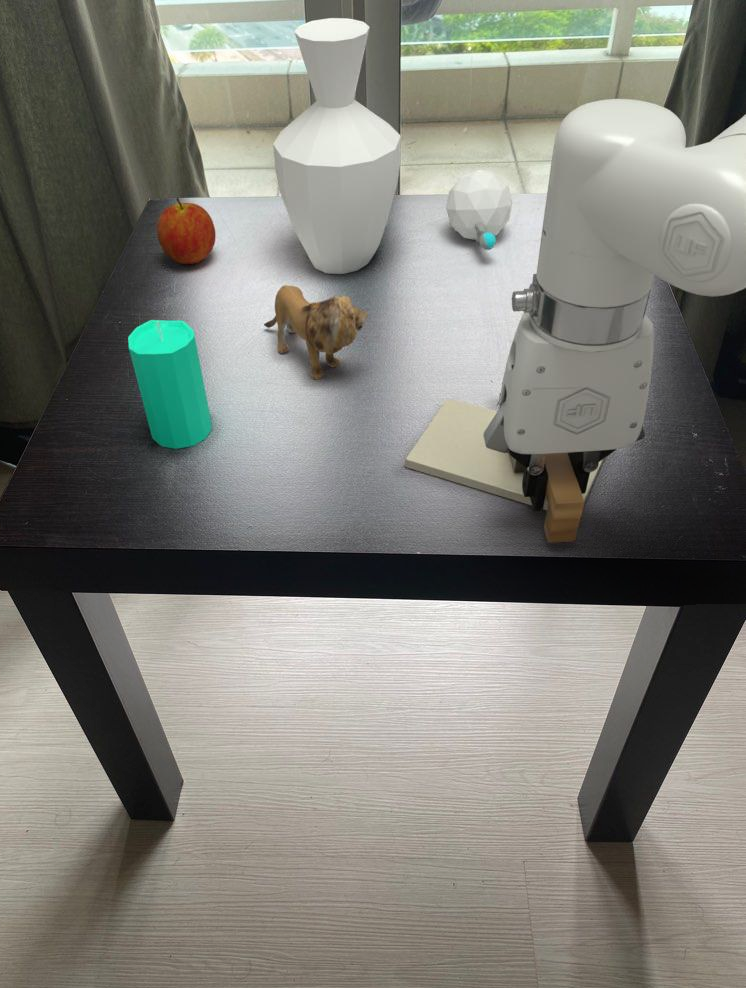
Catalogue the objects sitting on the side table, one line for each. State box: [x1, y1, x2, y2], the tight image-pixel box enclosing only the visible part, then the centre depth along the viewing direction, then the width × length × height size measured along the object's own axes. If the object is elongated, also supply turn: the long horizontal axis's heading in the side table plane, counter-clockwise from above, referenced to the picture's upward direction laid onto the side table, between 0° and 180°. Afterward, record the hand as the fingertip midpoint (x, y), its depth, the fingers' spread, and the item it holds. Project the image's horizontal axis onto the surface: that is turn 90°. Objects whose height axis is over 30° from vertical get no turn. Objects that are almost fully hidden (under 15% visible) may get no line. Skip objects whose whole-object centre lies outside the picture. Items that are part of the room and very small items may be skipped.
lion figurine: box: [263, 284, 368, 380], centre depth 87 cm, size 15×5×9 cm, turn 44°
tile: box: [404, 397, 606, 511], centre depth 77 cm, size 16×10×1 cm, turn 63°
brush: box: [509, 431, 585, 544], centre depth 72 cm, size 14×5×5 cm, turn 2°
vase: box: [272, 17, 402, 275], centre depth 95 cm, size 14×14×25 cm
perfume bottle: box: [445, 168, 513, 251], centre depth 103 cm, size 8×8×12 cm
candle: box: [127, 319, 213, 450], centre depth 78 cm, size 6×6×12 cm
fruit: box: [156, 197, 216, 265], centre depth 102 cm, size 7×7×8 cm
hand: (551, 497), depth 71 cm, fingers closed on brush
